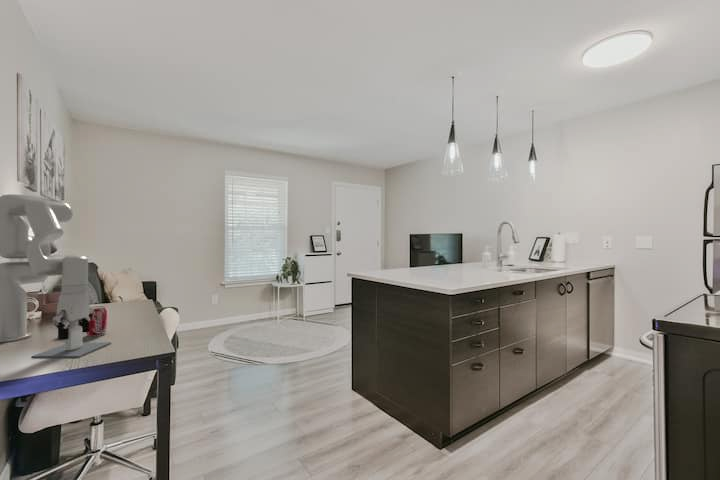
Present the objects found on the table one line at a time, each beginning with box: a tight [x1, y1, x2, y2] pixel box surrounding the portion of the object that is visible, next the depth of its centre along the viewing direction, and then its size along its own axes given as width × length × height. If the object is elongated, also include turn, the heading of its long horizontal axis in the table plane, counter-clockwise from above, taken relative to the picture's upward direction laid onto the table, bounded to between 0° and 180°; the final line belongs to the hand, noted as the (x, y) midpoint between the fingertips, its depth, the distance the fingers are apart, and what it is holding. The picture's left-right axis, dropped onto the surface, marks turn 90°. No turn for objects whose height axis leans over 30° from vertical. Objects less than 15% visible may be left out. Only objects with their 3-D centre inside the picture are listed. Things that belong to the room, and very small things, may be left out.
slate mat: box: [31, 341, 112, 359], centre depth 126 cm, size 16×16×1 cm
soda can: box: [85, 305, 108, 338], centre depth 146 cm, size 7×7×12 cm
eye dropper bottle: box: [64, 320, 84, 351], centre depth 126 cm, size 4×6×12 cm
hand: (74, 335), depth 126 cm, fingers open, 9 cm apart
